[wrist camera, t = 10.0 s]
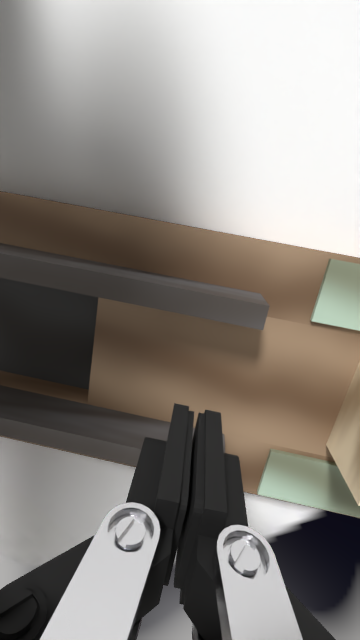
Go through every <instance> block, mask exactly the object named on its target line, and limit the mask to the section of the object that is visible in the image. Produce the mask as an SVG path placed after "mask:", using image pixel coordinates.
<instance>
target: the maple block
mask: <svg viewBox="0 0 360 640" xmlns="http://www.w3.org/2000/svg"><path fill="white" fill-rule="evenodd" d="M326 445H327V447H328V449H329V451H330V453H331V455H332V457H333V459H334V461H335V463H336V464H337V466H338V468H339V470H340V472H341V474H342V476H343V478H344V480H345V482H346V483H347V485H348V487H349V489H350V491H351V493H352V495H353V497H354V499H355V501H356V502H357V504H358V506H360V362H359V364H358V366H357V369H356V371H355V374H354V376H353V379H352V381H351V384H350V386H349V389H348V391H347V394H346V396H345V399H344V401H343V404H342V406H341V409H340V411H339V414H338V416H337V419H336V421H335V424H334V426H333V429H332V431H331V434H330V436H329V439H328V441H327V443H326Z"/></svg>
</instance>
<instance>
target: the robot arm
mask: <svg viewBox="0 0 360 640" xmlns="http://www.w3.org/2000/svg"><path fill="white" fill-rule="evenodd" d="M193 424H194V411H189V406H186V405H181V404H176V403H174V407H173V412H172V417H171V422H170V428H169V433H168V438H167V441H164V440H159V439H154V438H149V437H145V439H144V442H143V445H142V449H141V452H140V456H139V459H138V463H137V466H136V470H135V473H134V476H133V480H132V483H131V487H130V490H129V494H128V497H127V501H126V503H123V504H120V505H118V506H116V507H114V508H113V509H112V510H110V511H109V512H108V513H107V515H106V516H105V518H104V519H103V521H102V523H101V525H100V527H99V529H98V530H97V532H96V534H95V535H94V536H92V537H91V538H89V539H87V540H85V541H84V542H82V543H80V544H78V545H77V546H75V547H73V548H71V549H69V550H68V551H66V552H64V553H62V554H61V555H59V556H57V557H55V558H54V559H52V560H50V561H48V562H47V563H45V564H43V565H41V566H39V567H38V568H36V569H34V570H32V571H31V572H29V573H27V574H26V575H24V576H22V577H20V578H18V579H17V580H15V581H13V582H11V583H9V584H8V585H6V586H5V587H3V588H2V589H1V590H0V640H136V639H137V636H138V632H139V629H140V626H141V621H142V617H144V616H145V615H146V614H147V613H148V612H149V611H151V610H152V609H153V608H154V607H155V606H157V605H158V604H159V601H160V597H161V592H162V588H163V585H166V586H168V584H169V580H170V576H171V571H172V567H173V563H174V559H175V555H176V551H177V556H176V567H175V578H174V587H175V588H180V589H181V591H180V604H183V605H184V610H185V612H186V614H187V615H188V617H189V618H190V619H191V621H192V623H193V626H192V627H193V628H192V639H193V640H335V639H334V637H333V636H332V635H331V634H330V633H329V632H328V631H327V630H326V629H325V628H324V627H323V626H322V624H321V623H320V622H319V621H318V620H317V619H316V618H315V617H314V616H313V615H312V614H311V613H310V612H309V610H308V609H307V608H306V607H305V606H304V605H303V604H302V603H301V602H300V601H299V600H298V599H297V597H295V596H294V594H293V593H292V592H291V591H290V590H289V589H288V588H287V587H286V586H285V585H284V582H283V579H282V575H281V572H280V569H279V567H278V564H277V560H276V557H275V555H274V552H273V551H272V548H271V546H270V545H269V543H268V542H267V541H266V539H265V538H264V537H263V536H262V535H260V534H259V533H258V532H257V531H255V530H253V529H251V528H249V527H248V523H247V515H246V507H245V499H244V492H243V484H242V476H241V468H240V461H239V457H238V456H237V455H232V454H227V453H224V451H223V436H222V420H221V413H220V412H216V411H211V410H205V412H204V413H199V414H198V418H197V422H196V426H195V431H194V435H193ZM192 438H193V439H192Z"/></svg>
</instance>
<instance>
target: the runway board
mask: <svg viewBox="0 0 360 640" xmlns="http://www.w3.org/2000/svg"><path fill="white" fill-rule="evenodd" d="M359 362H360V258H357V257H352V256H346V255H341V254H336V253H330V252H325V251H319V250H314V249H309V248H303V247H298V246H293V245H287V244H282V243H276V242H271V241H266V240H260V239H255V238H250V237H244V236H239V235H233V234H228V233H223V232H217V231H212V230H207V229H201V228H196V227H190V226H185V225H180V224H174V223H169V222H164V221H158V220H153V219H147V218H142V217H137V216H131V215H126V214H121V213H115V212H110V211H104V210H99V209H94V208H88V207H83V206H78V205H72V204H67V203H61V202H56V201H51V200H45V199H40V198H35V197H29V196H24V195H18V194H13V193H8V192H2V191H0V436H1V437H5V438H10V439H14V440H18V441H23V442H27V443H32V444H36V445H40V446H45V447H49V448H54V449H58V450H62V451H67V452H71V453H76V454H80V455H84V456H89V457H93V458H98V459H102V460H106V461H111V462H115V463H120V464H124V465H128V466H133V467H136V466H137V463H138V459H139V456H140V452H141V449H142V445H143V442H144V439H145V437H149V438H154V439H159V440H164V441H167V438H168V433H169V428H170V422H171V417H172V412H173V407H174V403H176V404H181V405H186V406H189V411H194V424H193V435H194V431H195V426H196V422H197V418H198V414H199V413H204V412H205V410H211V411H216V412H220V413H221V420H222V436H223V451H224V453H227V454H232V455H237V456H238V457H239V461H240V468H241V476H242V484H243V492H247V493H252V494H256V495H260V496H265V497H269V498H274V499H278V500H282V501H287V502H291V503H296V504H300V505H304V506H309V507H313V508H318V509H322V510H327V511H331V512H335V513H340V514H344V515H349V516H353V517H358V518H360V506H358V504H357V502H356V501H355V499H354V497H353V495H352V493H351V491H350V489H349V487H348V485H347V483H346V482H345V480H344V478H343V476H342V474H341V472H340V470H339V468H338V466H337V464H336V463H335V461H334V459H333V457H332V455H331V453H330V451H329V449H328V447H327V445H326V443H327V441H328V439H329V436H330V434H331V431H332V429H333V426H334V424H335V421H336V419H337V416H338V414H339V411H340V409H341V406H342V404H343V401H344V399H345V396H346V394H347V391H348V389H349V386H350V384H351V381H352V379H353V376H354V374H355V371H356V369H357V366H358V364H359ZM192 439H193V438H192Z"/></svg>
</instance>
